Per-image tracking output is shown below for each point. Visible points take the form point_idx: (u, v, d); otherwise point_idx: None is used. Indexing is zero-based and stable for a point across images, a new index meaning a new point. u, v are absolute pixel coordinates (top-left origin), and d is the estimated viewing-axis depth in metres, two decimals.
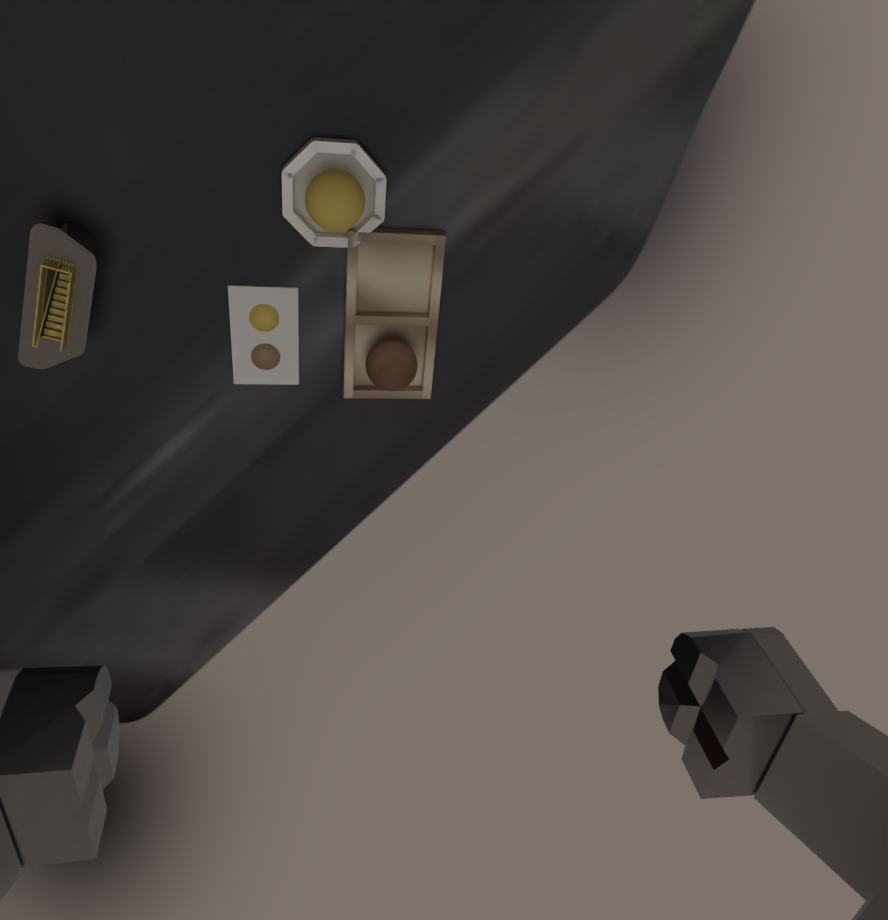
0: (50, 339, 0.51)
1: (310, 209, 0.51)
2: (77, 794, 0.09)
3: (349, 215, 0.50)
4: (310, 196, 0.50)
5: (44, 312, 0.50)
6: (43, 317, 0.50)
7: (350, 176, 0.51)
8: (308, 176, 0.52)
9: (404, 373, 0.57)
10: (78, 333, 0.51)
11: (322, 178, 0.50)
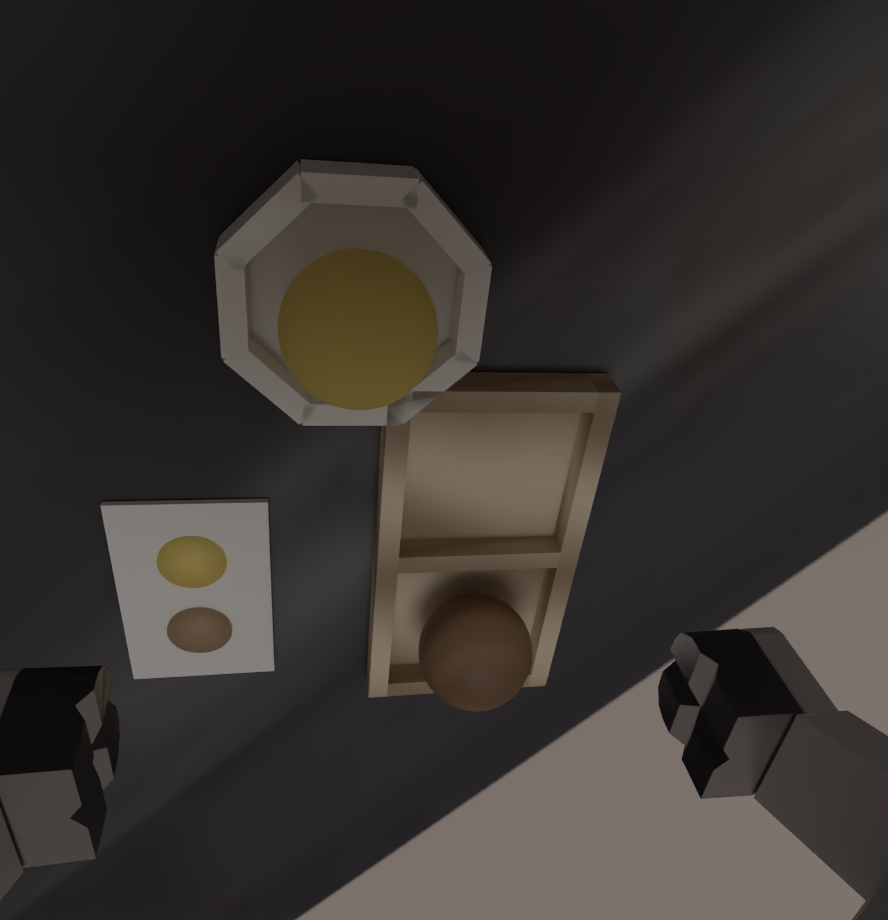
0: None
1: (292, 362, 0.18)
2: (77, 794, 0.09)
3: (400, 379, 0.18)
4: (291, 330, 0.18)
5: None
6: None
7: (402, 271, 0.18)
8: (288, 260, 0.20)
9: (508, 687, 0.25)
10: None
11: (324, 280, 0.18)
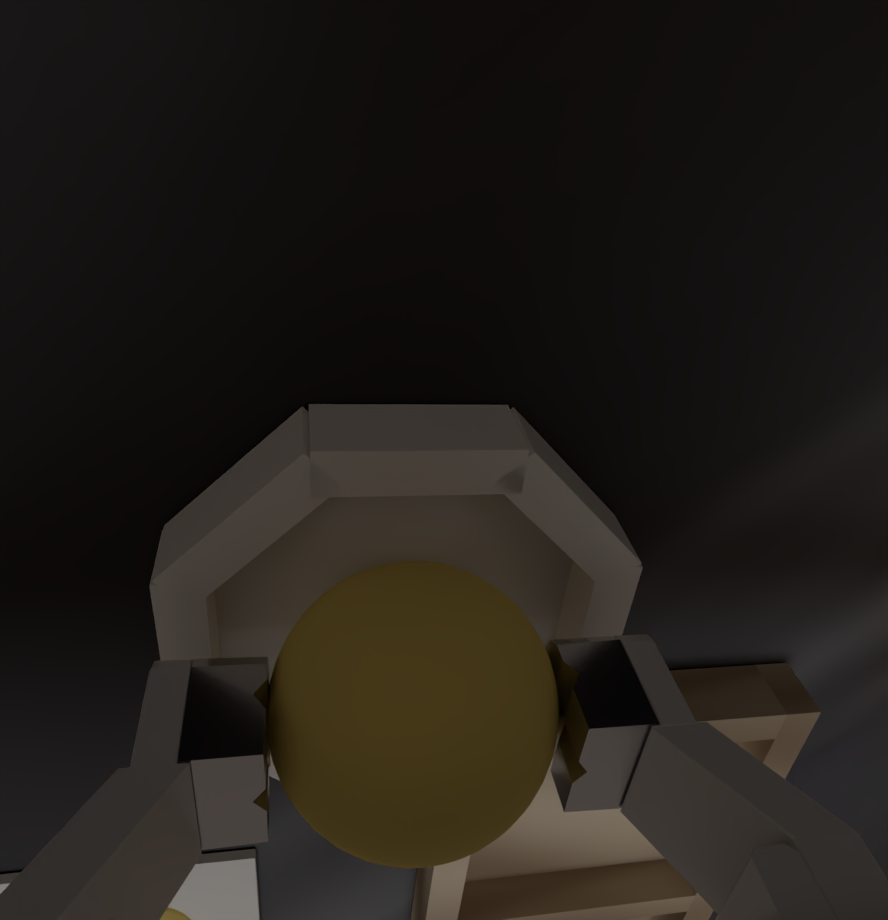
0: None
1: (293, 800, 0.10)
2: (264, 778, 0.09)
3: (498, 836, 0.10)
4: (292, 759, 0.09)
5: None
6: None
7: (502, 629, 0.10)
8: (286, 559, 0.11)
9: None
10: None
11: (356, 674, 0.09)
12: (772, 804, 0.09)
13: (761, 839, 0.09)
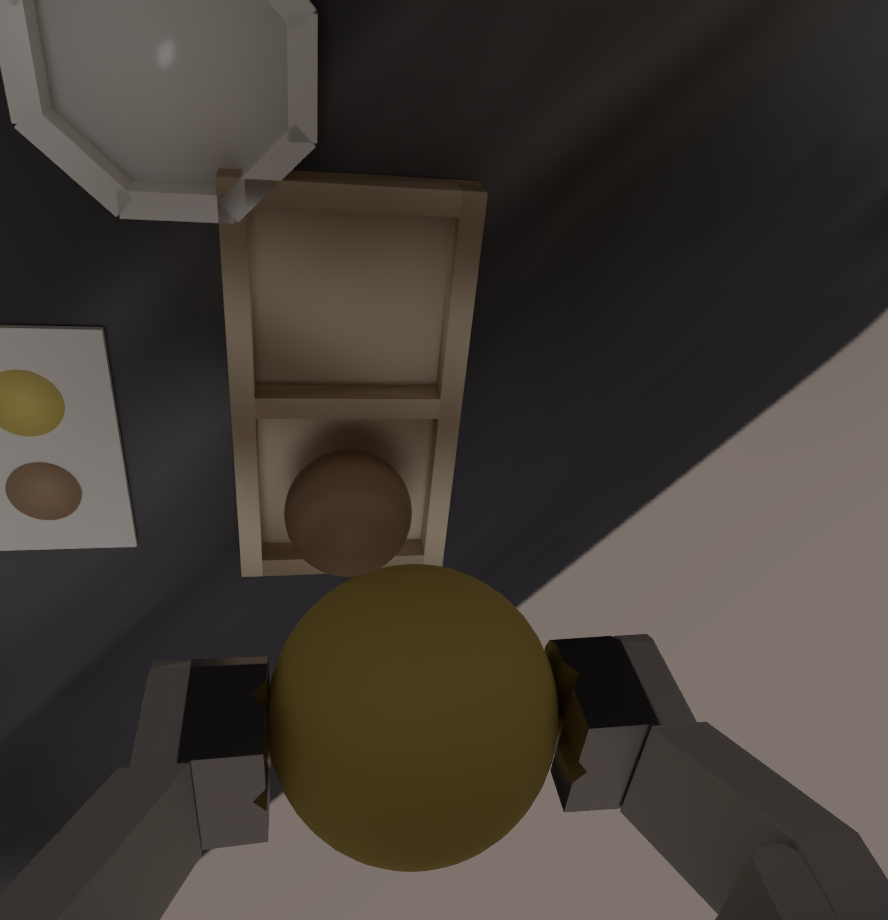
0: None
1: (293, 804, 0.10)
2: (264, 778, 0.09)
3: (497, 838, 0.10)
4: (291, 763, 0.09)
5: None
6: None
7: (501, 633, 0.10)
8: (85, 8, 0.18)
9: (377, 542, 0.23)
10: None
11: (357, 678, 0.09)
12: (772, 804, 0.09)
13: (760, 838, 0.09)
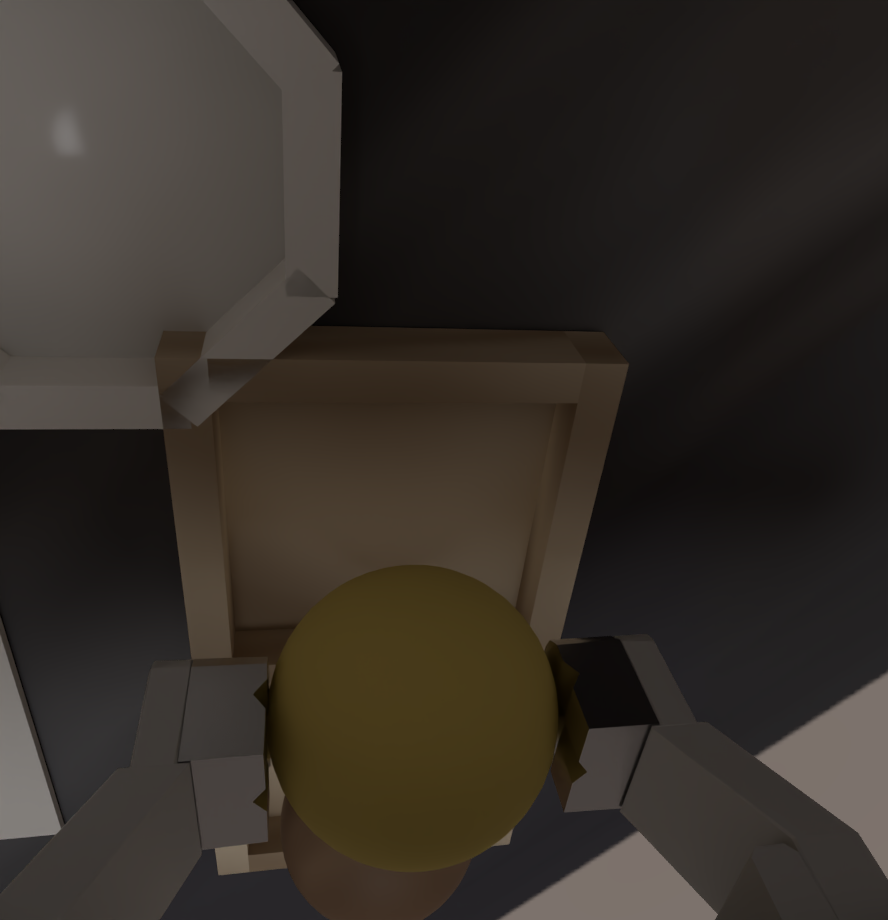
0: None
1: (293, 804, 0.10)
2: (264, 778, 0.09)
3: (498, 840, 0.10)
4: (292, 763, 0.09)
5: None
6: None
7: (501, 634, 0.10)
8: None
9: (430, 897, 0.14)
10: None
11: (357, 679, 0.09)
12: (771, 804, 0.09)
13: (760, 839, 0.09)
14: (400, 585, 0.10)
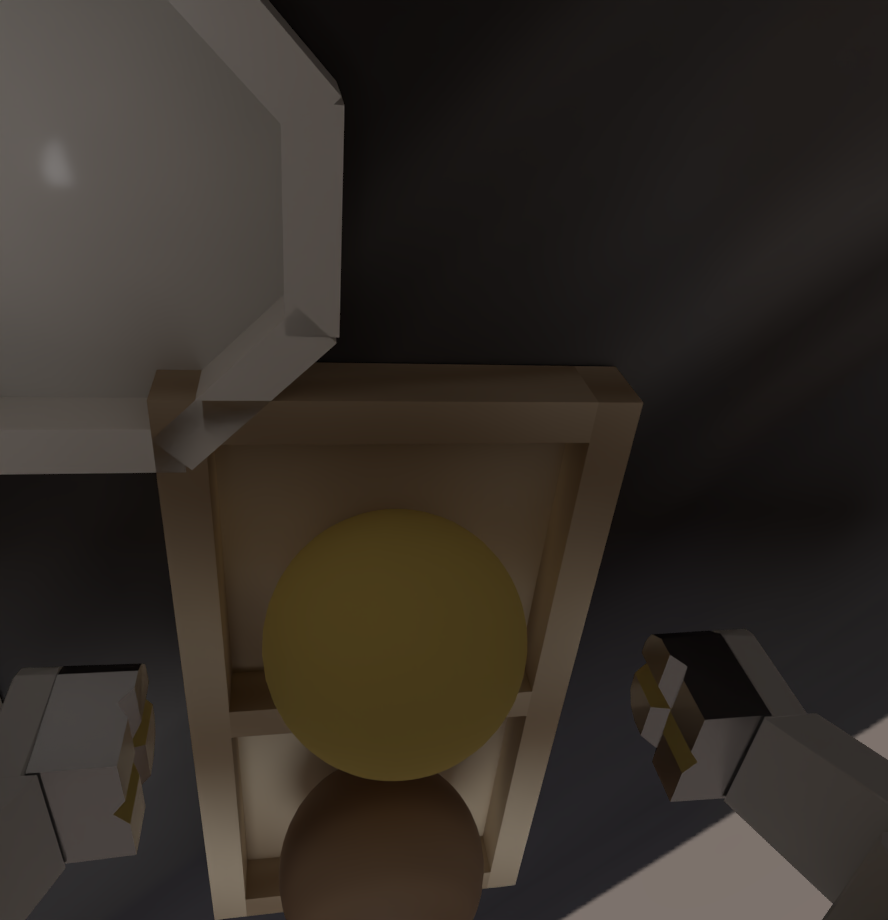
0: None
1: (282, 714, 0.11)
2: (121, 790, 0.09)
3: (464, 754, 0.11)
4: (281, 674, 0.10)
5: None
6: None
7: (473, 568, 0.11)
8: None
9: None
10: None
11: (339, 599, 0.10)
12: None
13: (881, 825, 0.09)
14: (385, 522, 0.11)
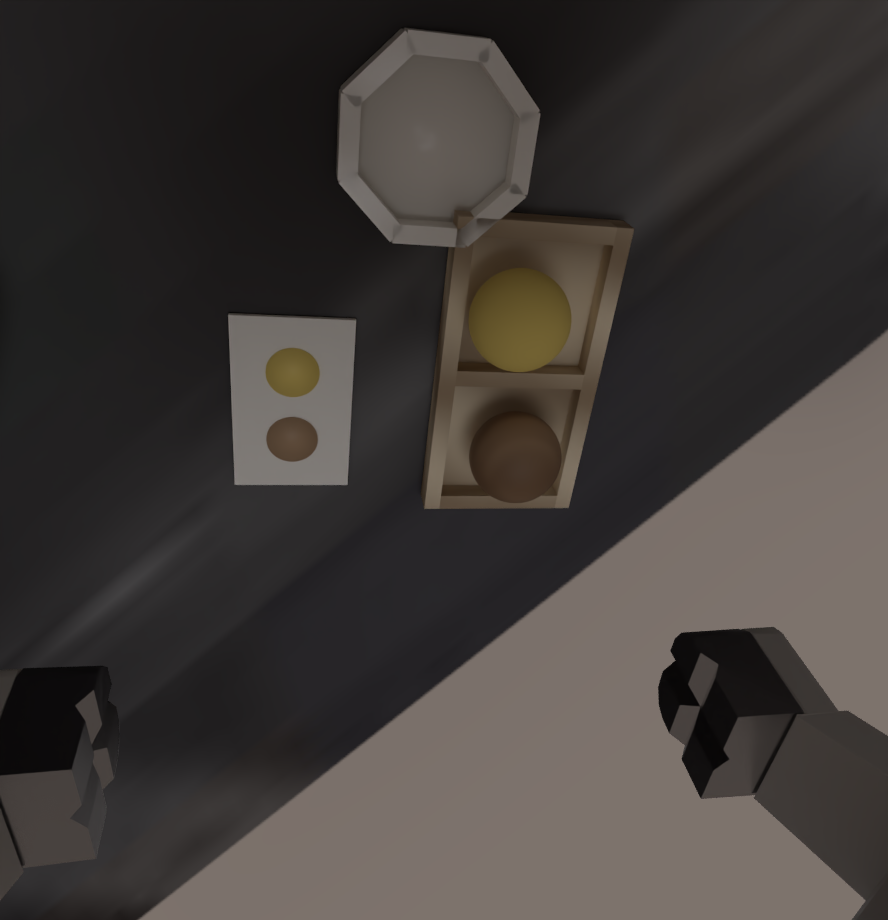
0: None
1: (471, 330, 0.29)
2: (77, 794, 0.09)
3: (533, 352, 0.29)
4: (474, 310, 0.29)
5: None
6: None
7: (550, 285, 0.29)
8: (389, 107, 0.27)
9: (544, 474, 0.32)
10: None
11: (499, 282, 0.29)
12: None
13: None
14: (523, 268, 0.29)
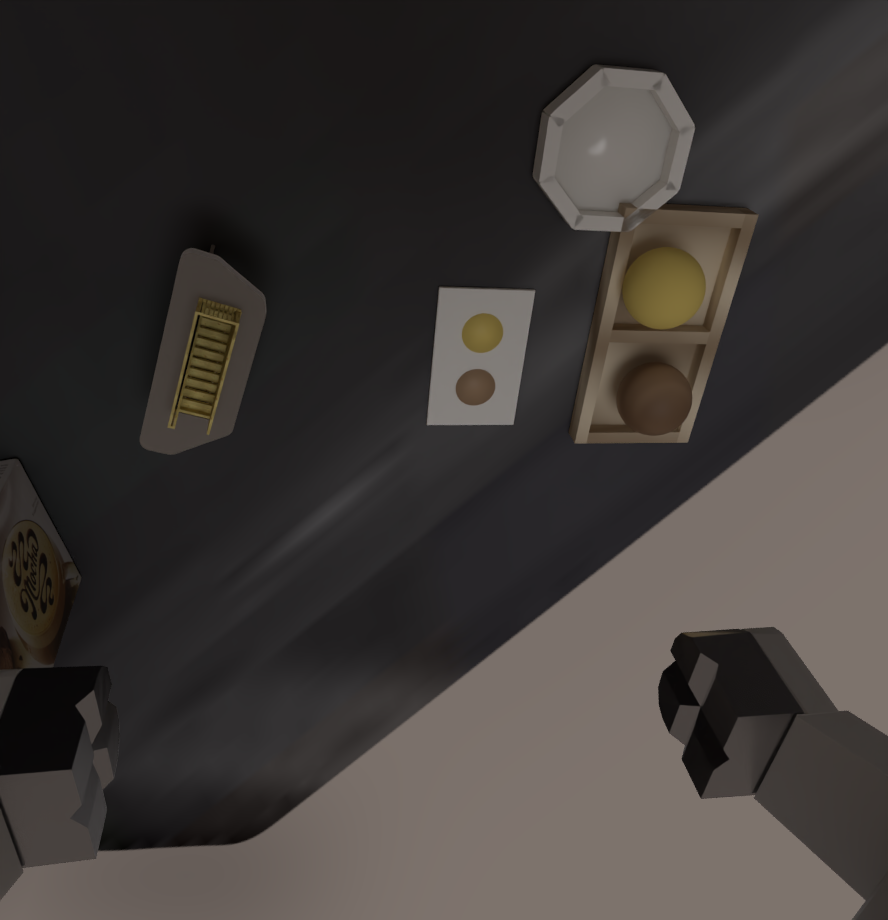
0: (188, 413, 0.35)
1: (625, 294, 0.38)
2: (77, 794, 0.09)
3: (674, 312, 0.37)
4: (629, 279, 0.38)
5: (185, 376, 0.34)
6: (183, 383, 0.34)
7: (691, 260, 0.37)
8: (579, 125, 0.35)
9: (681, 411, 0.40)
10: (229, 405, 0.35)
11: (650, 257, 0.37)
12: None
13: None
14: (669, 247, 0.38)
